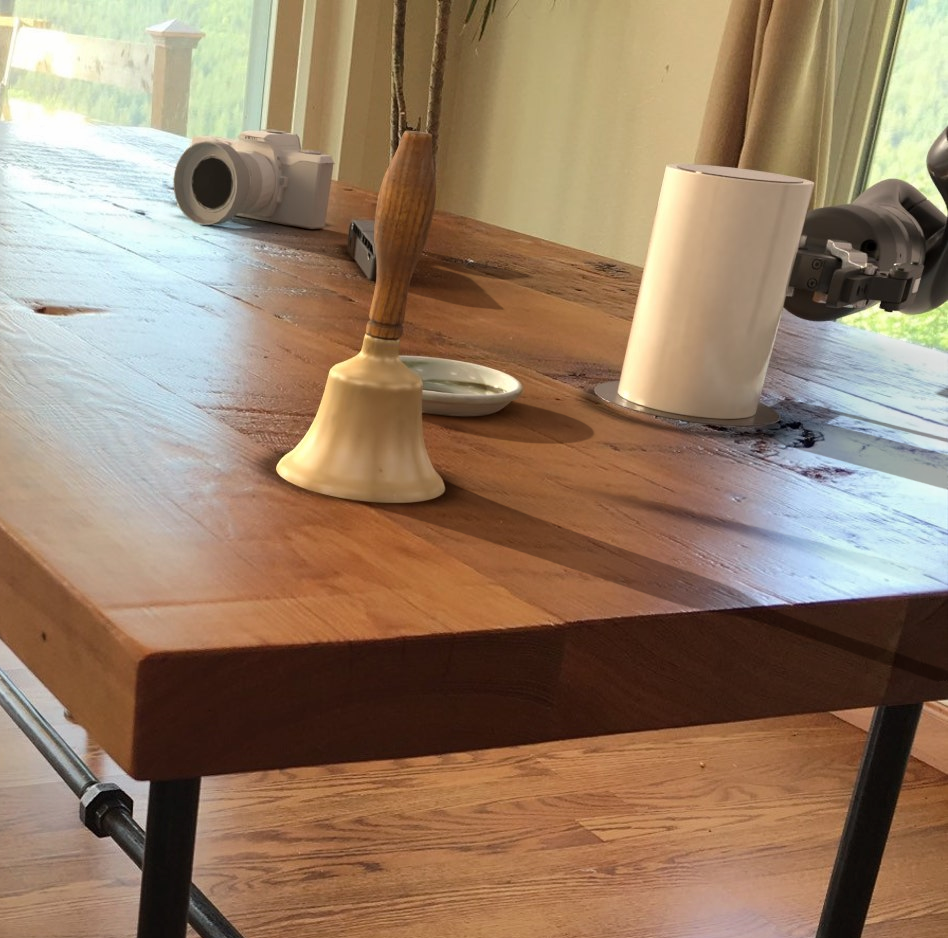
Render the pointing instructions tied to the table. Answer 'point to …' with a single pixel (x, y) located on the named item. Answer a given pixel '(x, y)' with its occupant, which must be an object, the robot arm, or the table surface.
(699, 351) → the tall white cylinder
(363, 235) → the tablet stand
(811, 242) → the robot arm
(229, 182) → the digital camera
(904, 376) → the table surface
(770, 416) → the disc
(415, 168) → the hand bell
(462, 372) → the saucer
